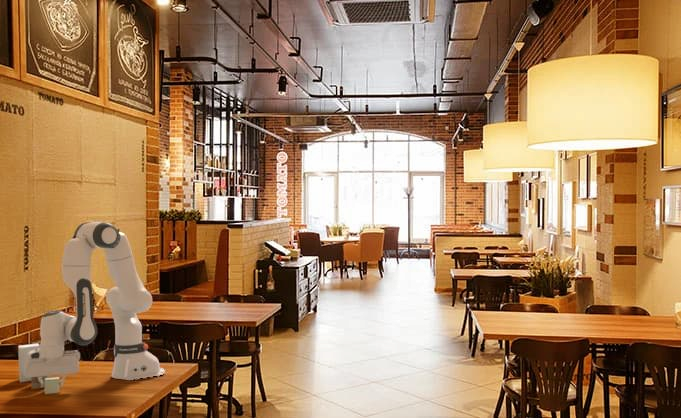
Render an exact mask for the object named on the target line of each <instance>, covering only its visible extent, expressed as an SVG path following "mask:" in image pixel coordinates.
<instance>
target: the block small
mask: <svg viewBox="0 0 681 418" xmlns="http://www.w3.org/2000/svg"><path fill="white" fill-rule="evenodd" d="M59 381H60V377H59V376H56V377H48V378H46V379H45V388H44V395H47V394H50V395H51V394H58V393H59V392H60V386H59Z"/></svg>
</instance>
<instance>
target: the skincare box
mask: <svg viewBox="0 0 681 418" xmlns="http://www.w3.org/2000/svg"><path fill="white" fill-rule="evenodd" d="M38 348H40V343H38V342H37V343H31V344H23V345H18V349H17V350H18V377H19V378H18V379H19V383H26V382H31V377H28V378H26V377H25V376H24V368H25V363H26V361H27V359H28V353H29V352H30V351H32V350H35V349H38Z"/></svg>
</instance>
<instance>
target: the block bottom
mask: <svg viewBox="0 0 681 418" xmlns="http://www.w3.org/2000/svg"><path fill="white" fill-rule="evenodd" d="M46 378H49V376H42V381H43V382H45V379H46ZM30 383H31V385H30V388H31V390H37V389H45V387H42V388H41V383H40V382H39V380H38V377H31V381H30Z"/></svg>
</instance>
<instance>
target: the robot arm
mask: <svg viewBox="0 0 681 418" xmlns="http://www.w3.org/2000/svg"><path fill="white" fill-rule="evenodd" d="M95 249H102V250H103V252H104V254H105V261H106V264H107V269H108V274H109V276H110V279H111V281H113V282H114V284H115V285H116V286H113V287H111V288H110V289H108V291H107V292H106V293H105V294H106V295H105V302H106V304H107V305H108V307H109V308H110V311H111V314H112V318H113V322H114V328H115V329H114V333H115V334H114V335H115V343H114V346H113V355H114V356H113V357H114V362H113V368H112V372H111V376H110V377H111V378H113V379H117V380H124V381H133V380H134V379H135V380H141V379H140V378H143V379H148V378H147V377H150V378H154V377H153V376H157V377H161V376H160V375H163V374H164V373H166V370H165V369H164V368H163V367H160V362H159V359H158V357H156V356H155V355H153V354H152V353H151V352H150V351H148V348H149V345H148V344H147V343H145V342H143V340H142V339H143V338H142V337H143V335H142V334H143V333H142V332H143V331H142V330H143V325H142V323H141V321H140V320H139V318H138V315H137V314H140V313H146V312H147V311H149V309H150V308H151V307H152V304H153V296H152V294H151V293H150V292H149V291H148V290H147V288H146V287H145V286H144V284H143V282H142V280H141V279H140V276H139V274H138V271H137V268H136V264H135V263H136V262H135V259H134V255H133V251H132V247H131V244H130V242H129V239H128V236H127V235H126V234H125V233H123V232H121V231H118V229H117V227H116V226H115V225H114V224H111V223H109V222H104V221H103V222H102V221H93V222H92V221H91V222H84V223H81V224H79V225H78V226H77V228H76V230H74V234H73V237H72V239H71V238H70V239H69V240H67V241H66V243H65V245H64V248H63V253H62V261H61V275H62V281H63V282H64V284H65V286H67V287H68V288H69V289H70V290H71V292H72V293H73V295H74V298H75V309H76V310H75V311H76V312H75V314H76V316H74V315H70V314H68V313H66V312H63V311H62V310H59V309H57V310H55V309H54V310H51V311H47V312H45V313H44V314H43V315H42V316H41V320H40V328H39V329H40V330H39V336H40V338H41V339H40V343H39V346H40V348H38V349H35V350H32V351H30V352H29V353H28V359H27V361H26V363H25V368H24V376H25V377H26V378H28V377H38V380H39V382H40V383H41V388H40V389H43V388H42V387H45V382H43V381H42V376H48V377H50V376H61V380H59V387H62V386H63V385H64V380H65V379H66V375H73V374H75V375H76V374H78V373H79V372H80V362H79V361H80V359H81V352H80V351H78V350H76V349H75V350H65V342H66V341H70V342H74V343H75V344H77V345H79V346H88V345H89V344H91V343H92V342H94V340H95V339H96V337H97V335H98V325H97V323H96V322H95V317H94V299H93V287H92V271H91V270H92V256H93V255H92V254H93V252H94V250H95ZM164 375H165V374H164ZM164 375H163V376H164Z"/></svg>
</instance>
